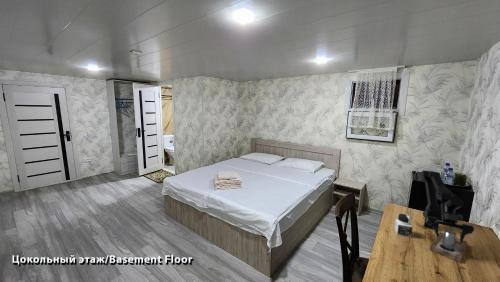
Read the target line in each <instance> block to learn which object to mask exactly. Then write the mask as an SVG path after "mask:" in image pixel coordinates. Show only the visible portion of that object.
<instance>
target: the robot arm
mask: <svg viewBox="0 0 500 282" xmlns="http://www.w3.org/2000/svg"><path fill="white" fill-rule="evenodd" d="M419 176H420V178H421V181H422V182H423V183H424V185H425V192H426V200H427V206H426V207H425V210H424V211H422V217H424V223H423V227H424V228H427V229H430V230H433V231H434V233H435V235H436V237H439V233H440V232H439V227H440V225H442V226H447V227H450V228H455V229H460V231H459V239H460V243H462V241H463V240H464V239H465V237H466V236H467V235H469V234H470V235H471V234H473V233H474V231H475V228H474V226H473V225H470V224H466V223H462V224H458V222H459V221H460V222H463V220H464V216H463V214H459V213H457V214H456V211H457V210H459V209H460V208H462V207H464V205H465V202H464V200H463V199H462V198H460V197H459V196H458V195H457V194H454V193H453V192H452V191H451V189H449V188H447V187H446V184H445V182H444V181H443V179H442V177H441V173H440V172H438V171H433V170H425V169H424V170H421V171H420V173H419ZM439 201H440V202H441V204H440V206H439V204H438V202H439Z"/></svg>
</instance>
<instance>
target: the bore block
mask: <svg viewBox="0 0 500 282" xmlns="http://www.w3.org/2000/svg"><path fill="white" fill-rule="evenodd" d="M438 233H439V237H437V236H436V237H435V239H434V240H433V242H432V243H431V244H430V247H429V251H431V252H433V253H435V254H437V255H438V254H439V255H440V256H443V257H445V258H447V259H450V260H451V261H454V262H457V263H459V264H460V263H461V261H462V260H463V259H462V258H463V257H464V254H465V251H466V249H467V248H468V242H469V241H466V240H464V239H463V241H462V243H460V238H458V237H455V242H454V247H453V252H450V251H446V250H444V249H442V243H443V237H444V232H441V231H440V232H438Z"/></svg>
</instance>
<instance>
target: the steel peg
mask: <svg viewBox="0 0 500 282" xmlns="http://www.w3.org/2000/svg"><path fill="white" fill-rule="evenodd" d="M443 231H444V232H443V233H444V237H443V243H442V249H444V250H446V251H450V252H453V247H454V242H455V238H456V236H457V234H456V232H455V231H453V230H450V229H445V230H443Z"/></svg>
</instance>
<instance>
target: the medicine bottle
mask: <svg viewBox="0 0 500 282" xmlns="http://www.w3.org/2000/svg"><path fill="white" fill-rule="evenodd" d="M397 217H398V218H395V222H394V230H395V233H396V234H397V235H398V236H403V237H407V238H411V237H412V231H413V226H412V224H411V220H412V219H411V216H409V214H406V213H399V214H398V216H397Z"/></svg>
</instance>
